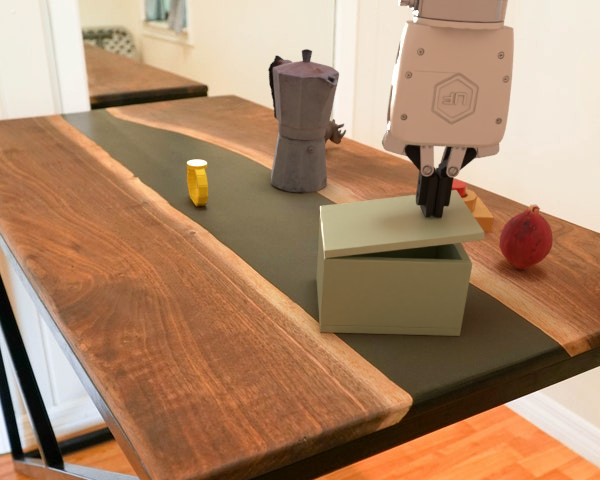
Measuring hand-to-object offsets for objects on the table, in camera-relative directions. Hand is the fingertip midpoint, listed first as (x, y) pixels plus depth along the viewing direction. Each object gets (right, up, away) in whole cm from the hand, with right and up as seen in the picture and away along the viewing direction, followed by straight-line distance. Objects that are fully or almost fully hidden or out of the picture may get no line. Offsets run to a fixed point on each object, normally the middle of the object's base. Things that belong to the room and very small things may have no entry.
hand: (430, 212), depth 64 cm
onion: (+13, -5, +14) cm, 20 cm away
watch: (-27, +5, +30) cm, 41 cm away
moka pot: (-13, +10, +39) cm, 42 cm away
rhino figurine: (-9, +18, +55) cm, 59 cm away
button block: (+8, +2, +27) cm, 28 cm away
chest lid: (-3, -1, +1) cm, 4 cm away
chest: (-4, -9, +5) cm, 11 cm away
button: (+8, +6, +25) cm, 27 cm away
